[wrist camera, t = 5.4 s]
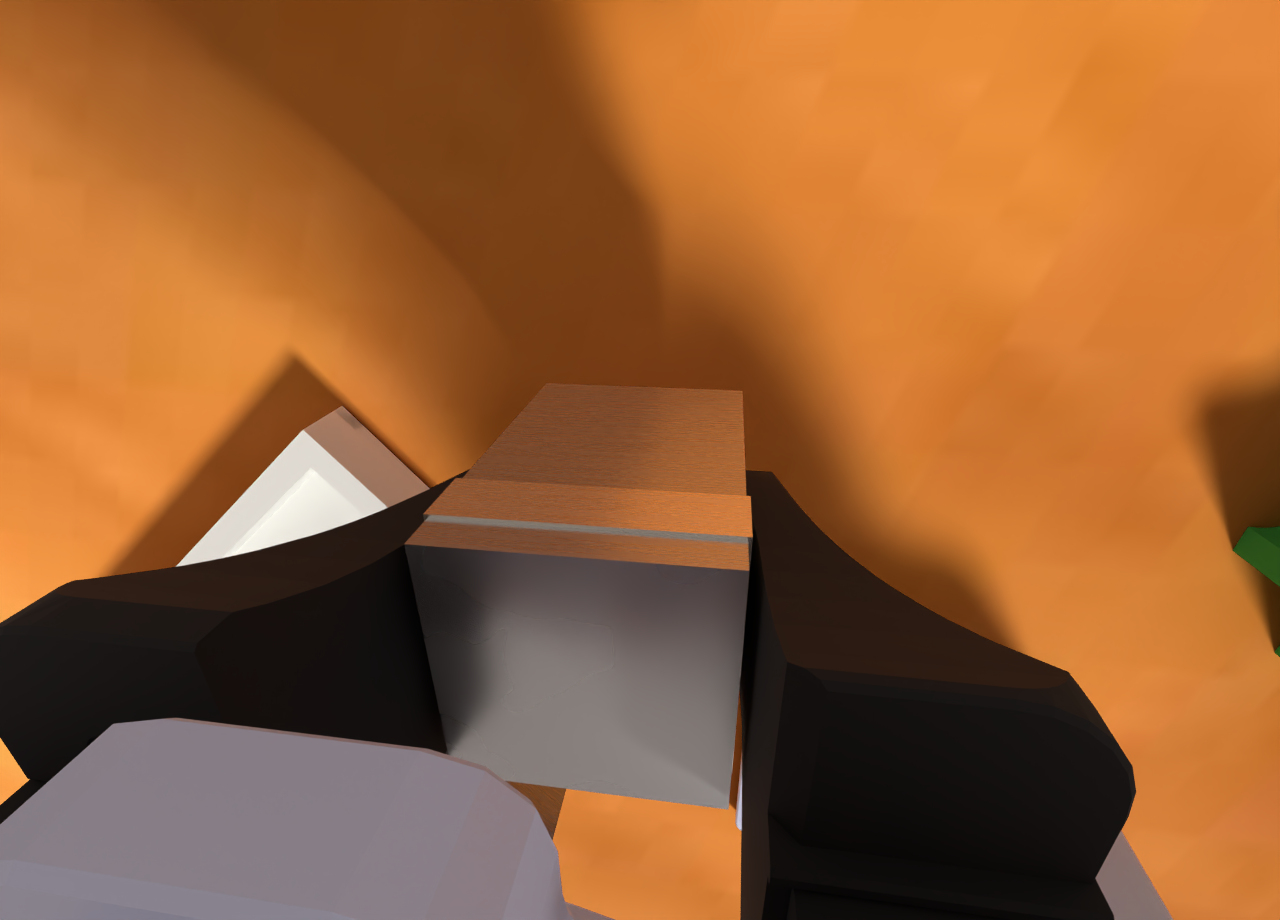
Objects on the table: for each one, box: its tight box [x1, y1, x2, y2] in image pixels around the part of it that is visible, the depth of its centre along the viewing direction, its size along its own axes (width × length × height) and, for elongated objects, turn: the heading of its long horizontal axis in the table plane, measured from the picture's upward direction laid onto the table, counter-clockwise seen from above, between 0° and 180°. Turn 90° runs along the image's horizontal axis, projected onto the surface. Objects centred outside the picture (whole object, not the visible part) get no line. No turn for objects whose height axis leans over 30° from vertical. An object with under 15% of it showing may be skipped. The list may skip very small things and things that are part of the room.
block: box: [404, 383, 753, 809], centre depth 10 cm, size 4×4×6 cm
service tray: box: [176, 406, 430, 567], centre depth 21 cm, size 16×9×2 cm, turn 132°
